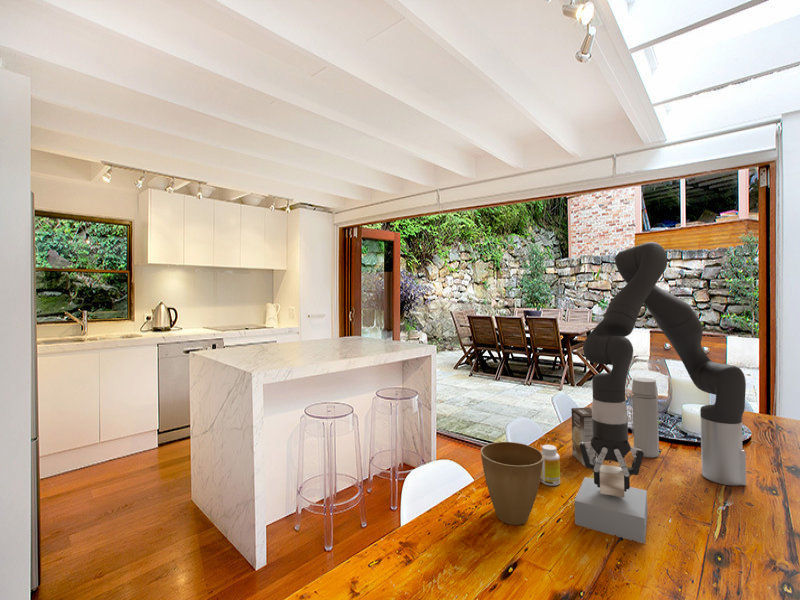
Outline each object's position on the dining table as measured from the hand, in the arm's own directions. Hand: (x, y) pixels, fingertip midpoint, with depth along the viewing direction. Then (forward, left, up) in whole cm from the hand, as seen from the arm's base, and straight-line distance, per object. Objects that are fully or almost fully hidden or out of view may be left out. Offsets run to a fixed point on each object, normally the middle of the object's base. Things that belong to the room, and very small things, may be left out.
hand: (611, 487), depth 94 cm
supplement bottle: (+15, -14, -8) cm, 22 cm away
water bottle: (-12, -46, -8) cm, 48 cm away
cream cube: (0, 0, -1) cm, 1 cm away
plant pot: (+22, +8, -8) cm, 25 cm away
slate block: (0, 0, -8) cm, 8 cm away
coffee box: (+5, -34, -8) cm, 35 cm away
